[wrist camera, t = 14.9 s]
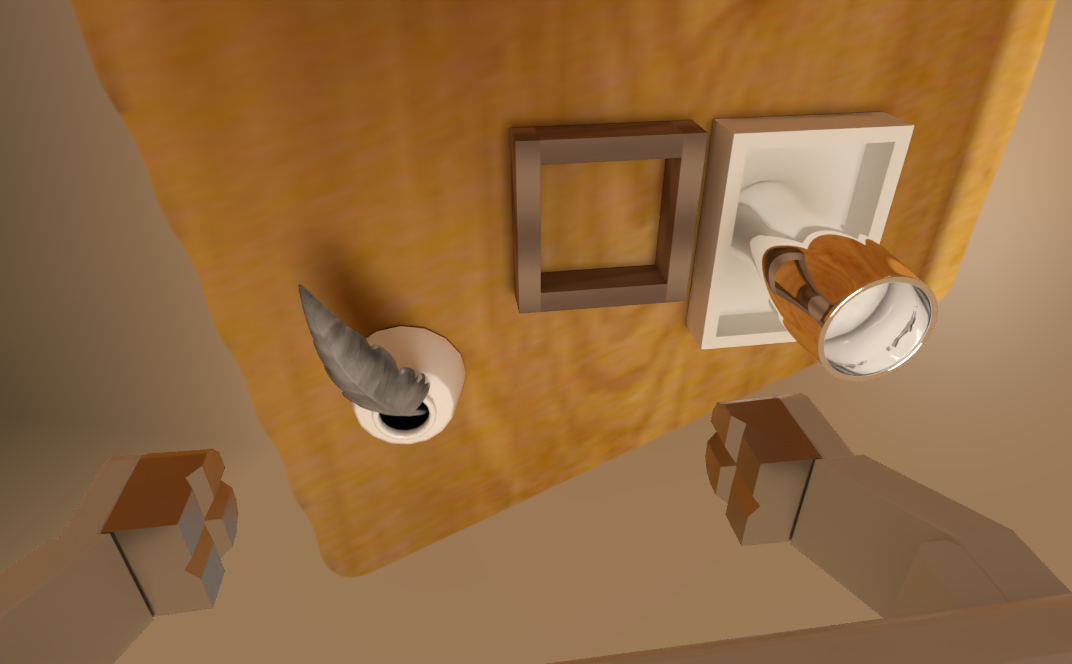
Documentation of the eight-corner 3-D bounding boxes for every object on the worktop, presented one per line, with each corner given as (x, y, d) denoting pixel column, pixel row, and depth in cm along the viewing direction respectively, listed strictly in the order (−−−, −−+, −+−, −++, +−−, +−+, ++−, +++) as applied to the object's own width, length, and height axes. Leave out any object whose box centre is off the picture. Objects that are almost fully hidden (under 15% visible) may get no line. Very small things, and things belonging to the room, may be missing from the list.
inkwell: (382, 436, 54) (373, 532, 46) (249, 256, 44) (208, 336, 36) (485, 394, 53) (495, 484, 45) (373, 201, 44) (359, 270, 35)
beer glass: (693, 232, 47) (788, 347, 35) (765, 154, 45) (895, 248, 32) (754, 281, 50) (863, 403, 38) (825, 210, 48) (966, 316, 35)
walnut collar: (510, 128, 42) (515, 141, 40) (691, 120, 44) (707, 132, 41) (514, 292, 49) (519, 313, 46) (672, 281, 50) (685, 301, 47)
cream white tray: (713, 118, 44) (734, 133, 41) (882, 111, 45) (914, 125, 42) (685, 325, 52) (701, 349, 49) (828, 313, 54) (851, 336, 51)
